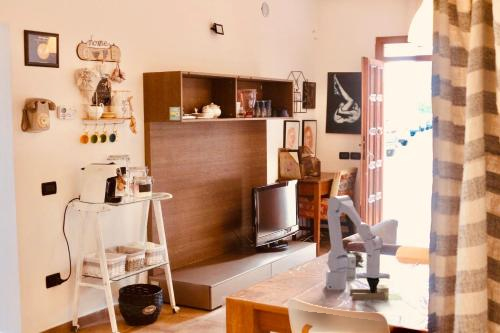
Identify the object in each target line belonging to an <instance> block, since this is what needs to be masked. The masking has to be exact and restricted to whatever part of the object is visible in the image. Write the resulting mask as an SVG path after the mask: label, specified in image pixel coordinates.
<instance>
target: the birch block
mask: <svg viewBox="0 0 500 333" xmlns="http://www.w3.org/2000/svg"><path fill="white" fill-rule="evenodd" d="M375 293H385V298H389V294H390V292H389V287H388V285H387V284H378V285H377V287H376V290H375Z"/></svg>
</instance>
